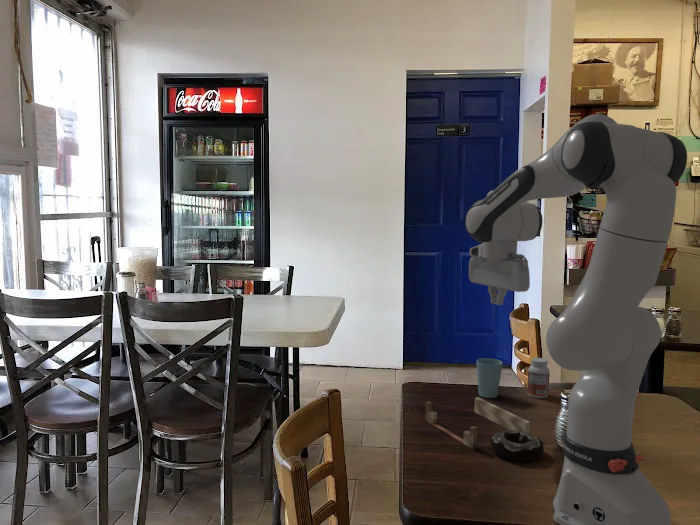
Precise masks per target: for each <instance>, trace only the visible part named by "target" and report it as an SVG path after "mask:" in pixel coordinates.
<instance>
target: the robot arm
mask: <svg viewBox="0 0 700 525" xmlns="http://www.w3.org/2000/svg"><path fill="white" fill-rule="evenodd" d="M687 163H688V151H687V147H686V145H685V143H684V142H683V141H682V140H681V139H679V138H678V137H676V136H674V135H672V134H670V133H667V132H664V131H657V132H656V131H654V130H650V129H646V128H641V127H636V125H633V124H624V123H618V122H617V121H616V120H615V119H614V118H612V117H610V116H608V115H605V114H601V113H600V114H599V113H595V114H594V113H593V114H590V115H587V116H585V117H583V118H582V119H581V120H580V121H578V122H577V123H575V124H574V125H572V126H571V127H570V128H569V129H567V131H566V132H565V133H564V134H562V136H560V138H559V139H557V141H556V142H555V143H554V144H553V145H552V146H551V147H550V148H549V149H548V150H547V151H545V152H544V153H543V154H542V155H540V156H539V157H537V158H536V159H534V160H533V161H531V162H530V163H528V164H525V165H524V166H522V167H520V168H518V169H516V170H515V171H514V172H513V173H511V175H509V176H508V177H507V178H506V179H504V180H503V182H501V183H500V184H499V185H498V186H497V187H495V188H494V189H492V190H490V191H488V193H487V194H486V197H484V198H483V199H479V200H477V201H476V202H474V203H473V204H472V205H471V206H470V207H469V209H468V210H467V213H466V215H465V218H464V219H465V221H464V223H465V224H464V225H465V229H466V232H467V233H468V234H469V235H470V237H472V239H473V240H474V241H476V242H477V243H478V245H476V246H473V247H470V248H469V256H470V259H469V262H468V279H469V281H470V283H472V284H473V283H474V284H478V285H484V286H487V291H488V294H489V296H490V303H491V304H493V305H496V306H503V304H504V299H505V296H506V295H507V294H508V291H512V292H516V293H517V292H518V293H519V292H520V293H521V292H522V293H524V292H528V291H529V289H530V286H531V283H530V282H531V278H530V268H529V261H528V259H527V257H525V255H524V254H521V253H519V254H518V253H517V250H518V242H528V241H533V240H535V239H536V238H537V237H538V236H539V234H540V233H541V231H542V229H543V222H544V221H543V214H542V212H541V210H540V208H539V206H537V205H536V204H534V203H531V202H529V201H534V200H542V199H553V198H554V199H555V198H566V197H567V198H568V197H571V196H573V195H577V194H578V193H580V192H582V191H584V190H585V189H589V190H595V189H597V188H598V187H599V186H600V187H601V188H602V189H603V191H604V193H605V196H606V202H605V208H604V211H603V214H602V218H601V221H600V225H599V228H598V232H597V235H596V238H595V243H594V246H593V250H592V253H591V257H590V261H589V265H588V267H587V270H586V271H585V275H583V276H584V277H583V278H582V280H581V282H580V284H579V286H578V288H577V289H576V291H575V293H574V294H573V296H572V298H571V300H570V302H569V303H568V305H567V306H566V308H565V309H564V310H563V312H561V314H559V316H558V317H557V318H555V320H553V321H552V322H551V323H550V325H549V327H548V329H547V331H546V337H545V338H546V339H545V341H546V348H547V352H548V353H549V356H550V357H551V359H552V360H553V361H554V362H555V363H556V364H557V365H558V366H559V367H561V368H563V369H565V370H569V371H573V372H575V371H576V372H581V373H580V376H579V377H578V380H577V382H576V383H575V384H574V385H573V386H572V388H571V390H570V392H569V395H568V404H567V419H566V420H567V421H566V431H565V432H564V434H563V441H562V454H563V455H564V457H563V465H562V469H561V474H560V479H559V484H558V488H557V491H556V494H555V496H554V498H553V501H552V507H553V508H554V514H553V521H554V522H556V523H557V524H559V525H672V522H671V521H672V520H671V518H672V517H671V513H670V511H671V510H670V507H669V504H668V502H667V501H666V500H665V499H664V498H663V496H662V495H661V493H659V492H658V490H656V488H655V487H654V486H653V485H652V483H651V482H650V481H649V480H648V478H647V477H646V476H645V474H643V472H642V471H641V470H640V465H639V463H641V462H644V461H645V459H644V457H645V454H641V455H640V454H639V455H637V454H636V451H635V448H634V444H633V442H632V435H633V424H634V414H635V413H634V412H635V405H636V400H637V395H638V392H639V389H640V386H641V382H642V379H643V376H644V374H645V370H646V368H647V365H648V362H649V360H650V358H651V355H652V353H653V352H654V350H656V348H657V347H658V345H659V343H660V341H661V337H662V329H661V325H660V323H659V321H658V319H657V317H656V316H655V315H654V314H653V312H651V311H650V310H649V309H647V308H645V307H642V306H640V304H641V302H642V301H643V300H644V298H645V297H646V296H647V295H648V293H649V292H650V291H651V290H652V289H653V288H654V286H655V285H656V283H657V281H658V276H659V273H660V271H661V266H662V264H663V260H664V256H665V254H666V253H665V252H666V249H667V246H668V243H669V239H670V236H671V235H670V234H671V232H672V227H673V221H674V218H675V211H676V199H677V198H676V197H677V187H676V184H677V183H678V181H679V180H680V179H681V178H682V176H683V174H684V173H685V170H686V167H687V165H688V164H687ZM479 243H480V244H479Z"/></svg>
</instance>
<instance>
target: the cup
mask: <svg viewBox="0 0 700 525" xmlns="http://www.w3.org/2000/svg"><path fill="white" fill-rule="evenodd" d="M502 370H503V361H502V360H500V359H496V358H490V357H489V358H488V357H485V358H482V357H481V358H478V359H477V360H476V373H477V387H478V388H477V389H478V396H480V397H482V398H486V399H495V398H497V397H498V394H499V388H500V382H501V376H502V375H501V374H502Z"/></svg>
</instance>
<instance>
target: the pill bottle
mask: <svg viewBox="0 0 700 525" xmlns="http://www.w3.org/2000/svg"><path fill="white" fill-rule="evenodd" d="M530 361H531V363H530V364H531V365H530V366H528V370H527V386H526V387H527V388H526V390H527V392H526V393H527V395H528V396H529V397H531V398H535V399H545V398H547V397H548V396H549V393H550V392H549V391H550V390H549V389H550V369H549V367H548V362H549V361H548V360H547V359H546V358H542V357H532V358H531V360H530Z"/></svg>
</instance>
